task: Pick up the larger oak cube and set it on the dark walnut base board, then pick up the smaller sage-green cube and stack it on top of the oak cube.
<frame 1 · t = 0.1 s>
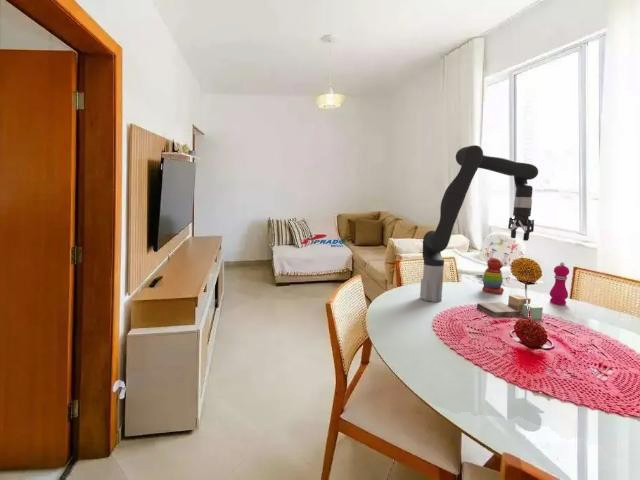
hand: (519, 239, 172), 29 cm above the table, tool pointing down, fingers open, 8 cm apart
green cube: (531, 317, 147), on the table
base board: (497, 311, 153), on the table
oak cube: (518, 309, 156), on the table
pepper mill: (557, 303, 166), on the table
stacking bear: (492, 291, 185), on the table
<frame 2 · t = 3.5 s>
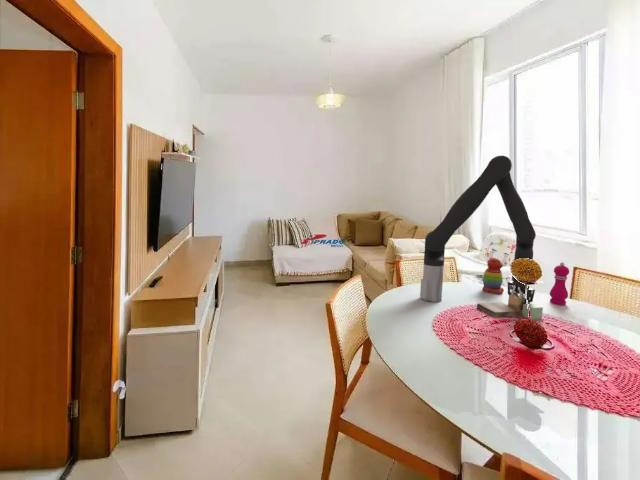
hand: (518, 307, 155), 1 cm above the table, tool pointing down, fingers closed on oak cube, 6 cm apart
oak cube: (518, 309, 156), on the table, touching gripper
everything else where it was.
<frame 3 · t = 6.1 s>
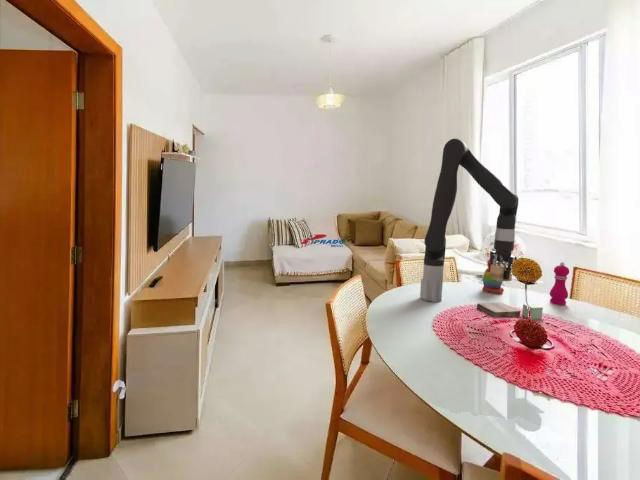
hand: (500, 277, 151), 15 cm above the table, tool pointing down, fingers closed on oak cube, 6 cm apart
oak cube: (500, 279, 151), point 14 cm above the table, touching gripper
everything else where it was.
when the fingers open (4 cm above the table, at t = 8.7 s): oak cube drops 1 cm, resting on base board.
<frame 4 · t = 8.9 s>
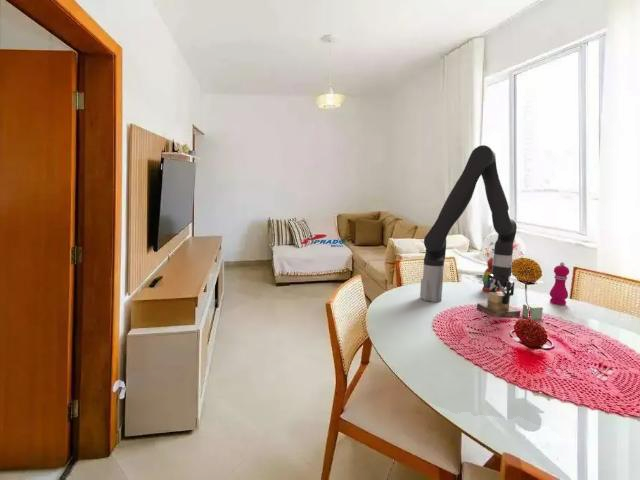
hand: (498, 301, 152), 5 cm above the table, tool pointing down, fingers open, 7 cm apart
oak cube: (498, 307, 153), point 2 cm above the table, touching base board
everything else where it was.
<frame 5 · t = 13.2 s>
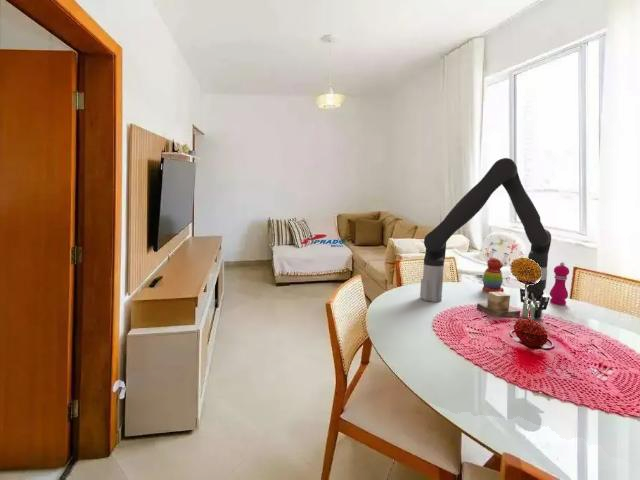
hand: (531, 315, 147), 0 cm above the table, tool pointing down, fingers closed on green cube, 5 cm apart
green cube: (531, 316, 147), on the table, touching gripper
everything else where it was.
when the fingers open (10 cm above the table, at t = 18.6 s): green cube drops 1 cm, resting on oak cube.
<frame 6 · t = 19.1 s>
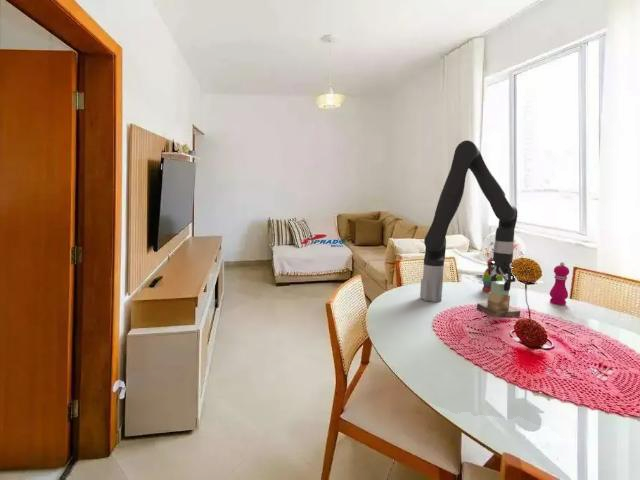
hand: (499, 288, 151), 11 cm above the table, tool pointing down, fingers open, 8 cm apart
green cube: (499, 293, 152), point 8 cm above the table, touching oak cube
oak cube: (498, 307, 153), point 2 cm above the table, touching base board, green cube
everything else where it was.
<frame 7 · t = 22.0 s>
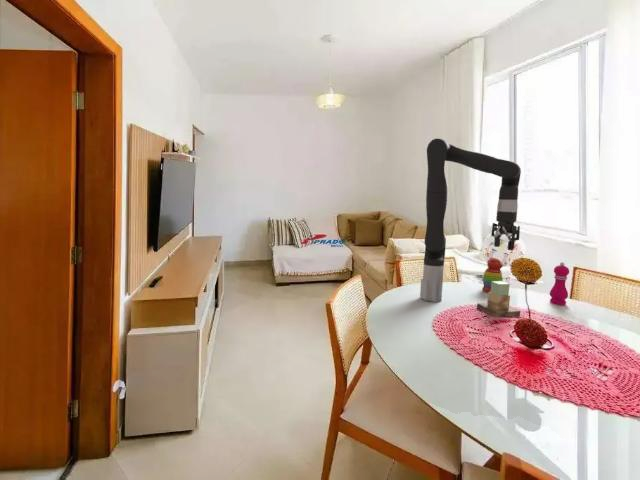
hand: (503, 248, 149), 28 cm above the table, tool pointing down, fingers open, 8 cm apart
nothing on the table moved.
at the end: oak cube inside the target area on the base board (0.0 cm from its centre), point 2.0 cm above the base board's base; green cube inside the target area on the base board (0.0 cm from its centre), point 8.0 cm above the base board's base; green cube tilted 0° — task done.
